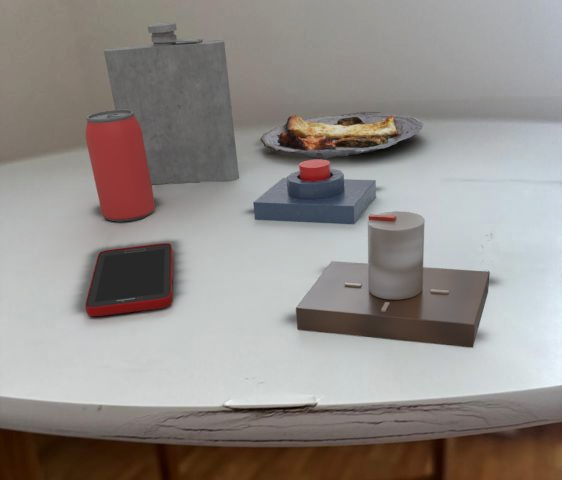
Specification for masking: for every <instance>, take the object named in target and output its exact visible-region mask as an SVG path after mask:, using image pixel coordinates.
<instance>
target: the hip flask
mask: <svg viewBox="0 0 562 480" xmlns="http://www.w3.org/2000/svg"><path fill="white" fill-rule="evenodd" d="M147 31H148V34H151V36H150V37H151V42H152V44H143V45H134V46H120V47H113V48H107V49H104V50H103V53H104V59H105V65H106V70H107V75H108V80H109V85H110V90H111V97H112V101H113V106H114V110H122V109H124V110H132V111H133V112H134V116H135V118H136V119H137V121H138V123H139V125H140V127H141V130H142V134H143V140H144V146H145V151H146V157H147V163H148V168H149V174H150V180H151V186H153V185H152V184H158V185H167V184H166V183H172V184H186V183H185V182H196V183H203V182H205V183H206V182H207V183H208V182H210V183H211V182H212V183H213V182H216V183H228V182H233V181H237V180H239V178H240V175H239V173H240V171H239V165H238V156H237V146H236V136H235V129H234V127H235V126H234V118H233V117H234V116H233V109H232V101H231V100H232V99H231V89H230V83H229V82H230V81H229V72H228V64H227V63H228V62H227V55H226V45H225V41H224V40H204V38H178V37H177V35H176V34H175V31H177V23H176V22H160V23H155V24H150V25H147Z"/></svg>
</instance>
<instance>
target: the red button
mask: <svg viewBox="0 0 562 480" xmlns="http://www.w3.org/2000/svg"><path fill="white" fill-rule="evenodd" d="M330 168H331V162H330V161H329V160H327V159H322V158H317V159H315V158H314V159H307V160H304V161H301V162H300V163H299V164H298V171H299V173H300V180H304V181H317V180H324V179H327V178H330V177H331V173H330Z"/></svg>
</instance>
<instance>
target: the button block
mask: <svg viewBox="0 0 562 480" xmlns="http://www.w3.org/2000/svg"><path fill="white" fill-rule="evenodd" d="M330 173H331V177H330V178H327V179H324V180H317V181H304V180H300V173H299V170H298V171H294V172H291V173H290V174H289V175H287V176H286V177H283V178H281V179H279V181H277V182H276V183H275V184H274V185H273V186H271V187H270V188H269V189H267V191H265V192H264V193H262V195H260V196H259V197H258V198H257V199H255V200H254V201H253V204H252V205H253V214H254V220H255V221H268V222H269V221H270V222H271V221H273V222H293V223H313V224H315V223H316V224H334V225H335V224H336V225H356V223H357V222H358V221H359V219H360V218H361V217H362V216H363V214H364V213H365V212H366V210H367V209H368V208H369V207H370V206H371V204H372V203H373V202H374V201H375V199H376V198H377V180H376V179H351V178H350V179H347V178H346V179H345V174H344V172H342V170H340V169H336V168H332V167H330Z"/></svg>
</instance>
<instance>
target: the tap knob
mask: <svg viewBox="0 0 562 480" xmlns="http://www.w3.org/2000/svg"><path fill="white" fill-rule="evenodd" d="M367 219H368V220H367V264H368V287H369V292H370V293H371V294H372V295H374V296H376V297H379V298H383V299H389V300H400V299H407V298H411V297H414V296H416V295H418V294H419V293H420V292H421V291H422V289H423V267H424V260H425V259H424V255H425V228H426V227H425V226H426V225H425V224H426V220H425V218H424V217H423V216H422V215H421V214H418V213H415V212H409V211H385V212H381V213H377V214H375V213H370V214H369V215H368V218H367Z"/></svg>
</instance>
